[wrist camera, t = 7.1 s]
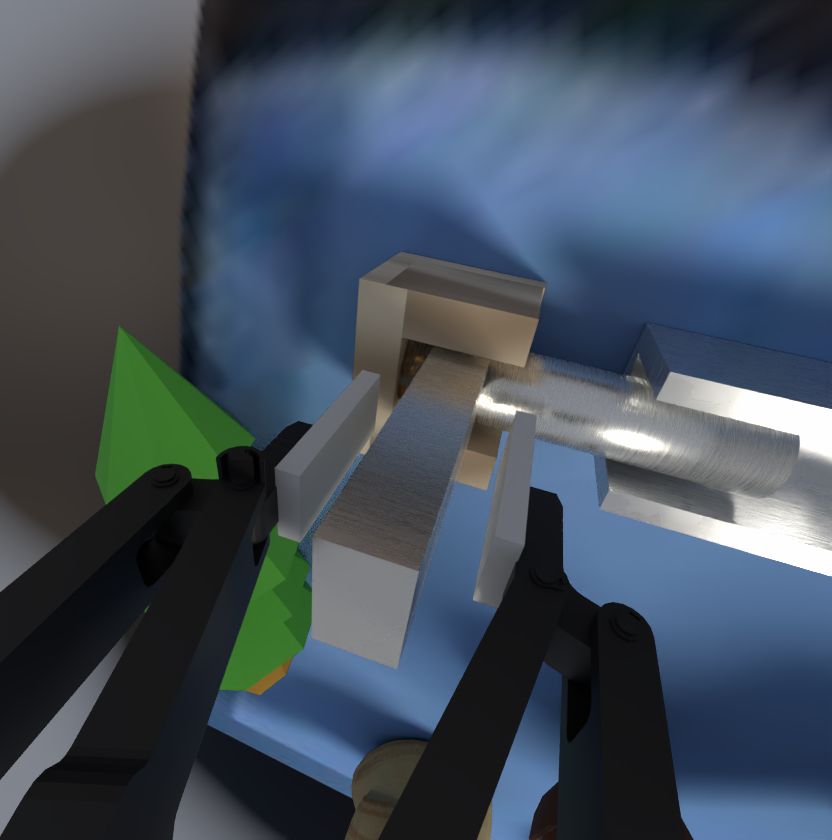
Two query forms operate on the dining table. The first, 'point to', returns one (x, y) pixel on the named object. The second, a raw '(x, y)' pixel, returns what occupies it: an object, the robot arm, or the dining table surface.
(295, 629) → the decorative tree
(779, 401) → the channel
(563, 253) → the dining table surface
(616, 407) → the shiny silver metal piece
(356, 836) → the ceramic vessel
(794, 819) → the dining table surface
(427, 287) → the socket
